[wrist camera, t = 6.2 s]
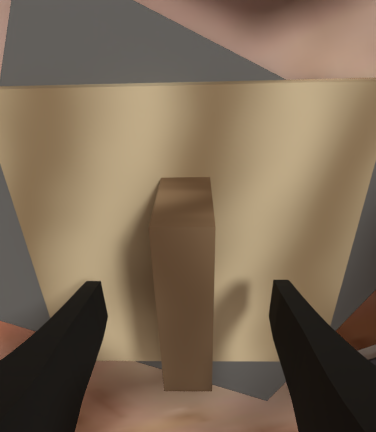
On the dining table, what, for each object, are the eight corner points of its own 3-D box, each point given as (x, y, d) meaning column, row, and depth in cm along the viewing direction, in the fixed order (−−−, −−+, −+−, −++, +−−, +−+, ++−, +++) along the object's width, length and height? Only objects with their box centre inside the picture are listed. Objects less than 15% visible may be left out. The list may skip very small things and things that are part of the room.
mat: (474, 177, 14) (481, 181, 14) (266, 395, 22) (266, 400, 22) (25, -56, 10) (19, -59, 10) (-29, 305, 19) (-34, 310, 18)
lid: (382, 77, 12) (493, 97, 7) (314, 346, 19) (350, 437, 15) (-8, 86, 12) (-121, 110, 8) (70, 346, 20) (33, 434, 15)
